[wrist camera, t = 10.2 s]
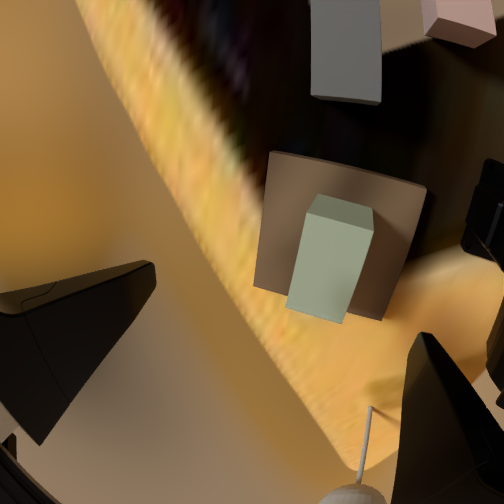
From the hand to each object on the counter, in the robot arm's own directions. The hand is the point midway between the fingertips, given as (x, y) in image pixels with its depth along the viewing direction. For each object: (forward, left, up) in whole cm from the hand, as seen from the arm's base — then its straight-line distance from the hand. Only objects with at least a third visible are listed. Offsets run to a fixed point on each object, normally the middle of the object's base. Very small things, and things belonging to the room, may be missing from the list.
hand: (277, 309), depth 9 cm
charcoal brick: (0, -10, -12) cm, 16 cm away
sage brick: (-1, +2, -11) cm, 11 cm away
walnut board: (-1, +2, -12) cm, 12 cm away
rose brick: (-6, -16, -12) cm, 21 cm away
